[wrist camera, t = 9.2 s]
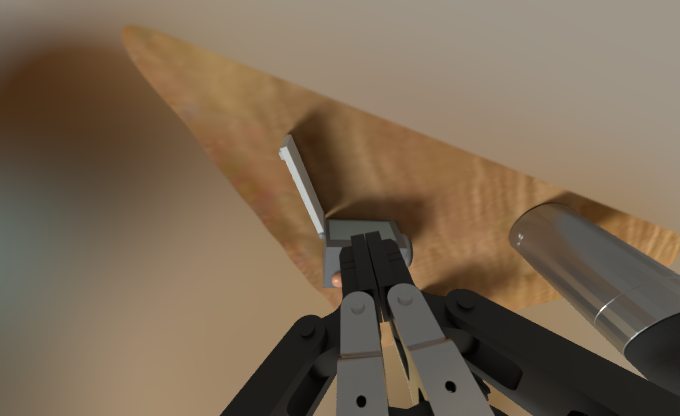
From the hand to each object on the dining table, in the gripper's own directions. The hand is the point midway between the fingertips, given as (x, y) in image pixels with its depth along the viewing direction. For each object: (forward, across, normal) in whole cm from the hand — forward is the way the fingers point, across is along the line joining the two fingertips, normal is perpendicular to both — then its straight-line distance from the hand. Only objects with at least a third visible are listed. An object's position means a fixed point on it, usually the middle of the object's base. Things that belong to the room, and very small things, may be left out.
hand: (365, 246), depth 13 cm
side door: (+19, +5, +4) cm, 20 cm away
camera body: (+19, 0, +15) cm, 24 cm away
